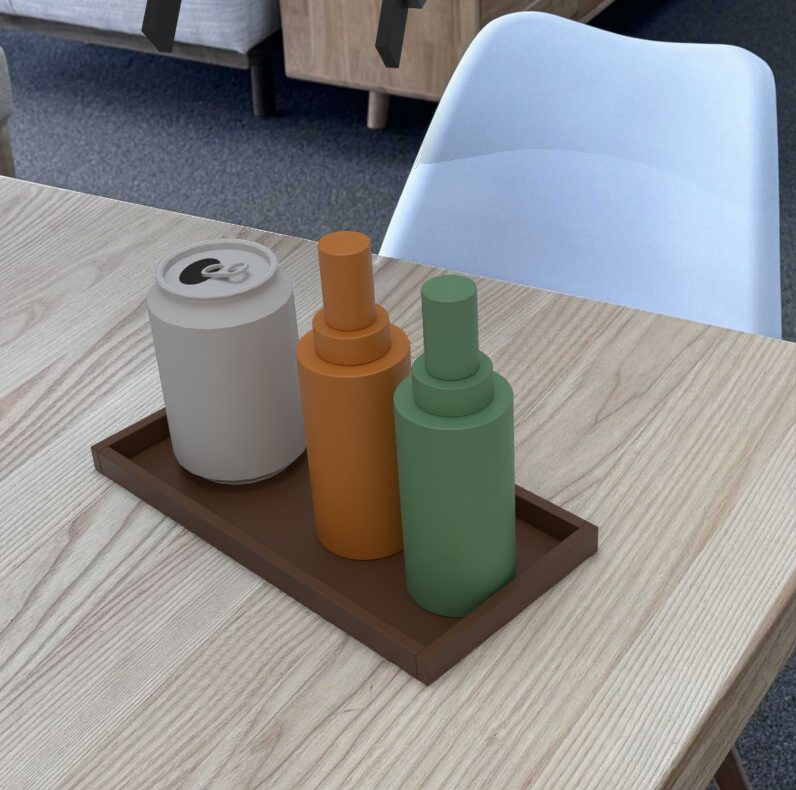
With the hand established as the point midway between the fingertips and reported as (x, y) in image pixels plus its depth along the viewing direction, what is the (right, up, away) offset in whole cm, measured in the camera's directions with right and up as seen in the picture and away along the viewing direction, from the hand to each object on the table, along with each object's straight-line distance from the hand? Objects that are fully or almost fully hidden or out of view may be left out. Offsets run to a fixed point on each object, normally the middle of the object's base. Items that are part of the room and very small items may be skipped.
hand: (270, 50), depth 79 cm
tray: (+4, -26, -4) cm, 27 cm away
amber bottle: (+6, -26, -6) cm, 28 cm away
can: (-1, -23, -1) cm, 23 cm away
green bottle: (+11, -28, -10) cm, 32 cm away
